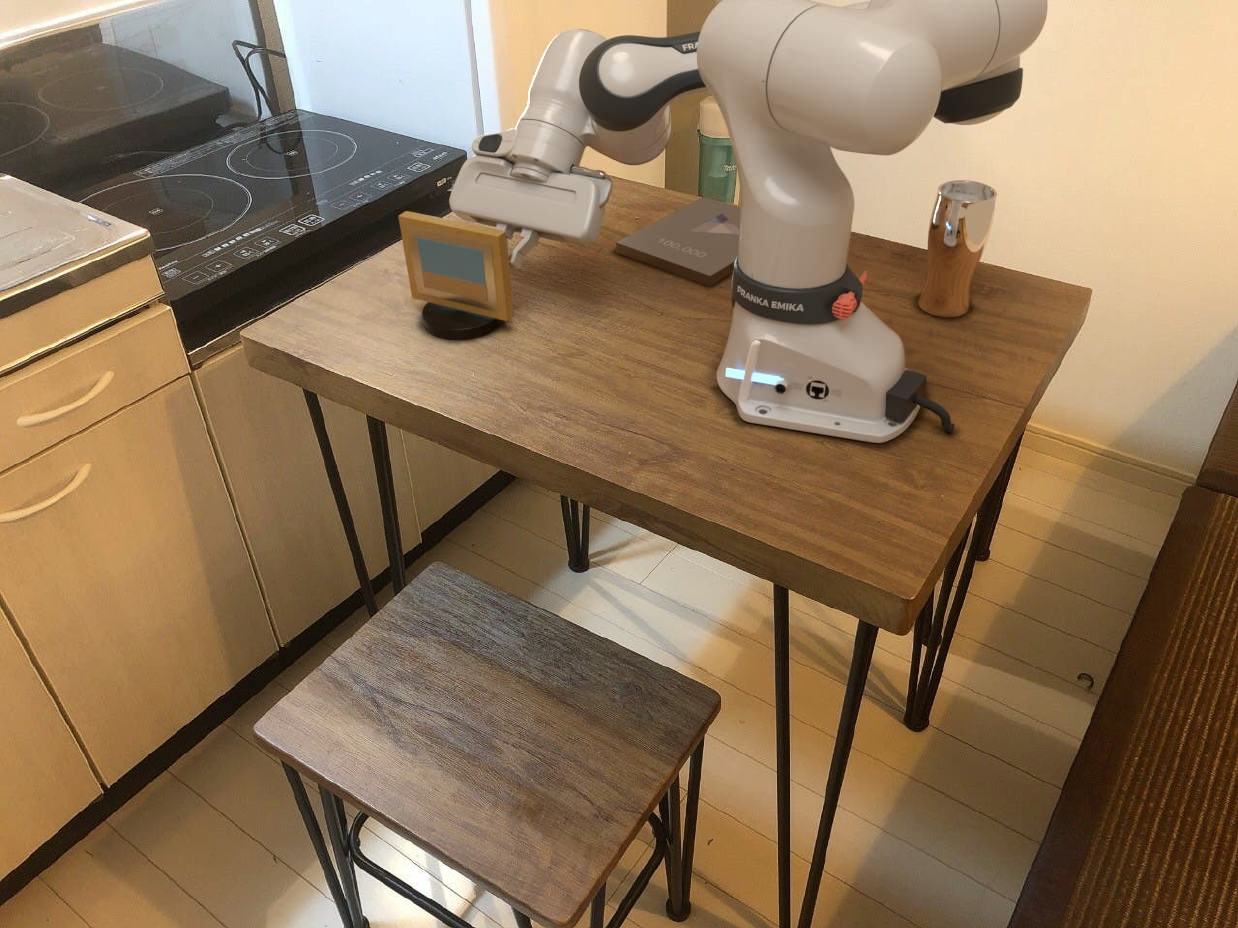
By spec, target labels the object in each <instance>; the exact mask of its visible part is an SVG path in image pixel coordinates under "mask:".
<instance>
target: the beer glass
mask: <svg viewBox="0 0 1238 928" xmlns="http://www.w3.org/2000/svg"><path fill="white" fill-rule="evenodd" d="M997 196H998V192H997V190H996V189H995V188H994V187H992V186H990V185H988V184H986V183H982V182H979V181H975V180H965V179H958V180H957V179H956V180H950V181H946V182H943V183H941V184H940V185H939V186H938V188H937V192H936V196H935V199H934V203H933V207H932V210H931V214H930V219H929V226H928V231H927V232H928V233H927V272H926V279H925V284H924V286H923V288H922V291H921V294H920V296H919V298H918V301H917V302H918V303H917V304H918V307H919V308H920V309H921V310H922V311H923V312H925V313H927V314H929V315H931V316H934V317H939V318H957V317H962V316H963V315H965V314H966V313H967V312H968V311H969V309H970V290H971V284H972V281H973V278H974V275H975V272H976V270H977V268H978V266H979V263H980V261H981V259H982V257H983V254H984V251H985V249H986V246H987V244H988V242H989V238H990V235H991V231H992V226H993V221H994V215H995V208H996V201H997Z"/></svg>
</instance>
